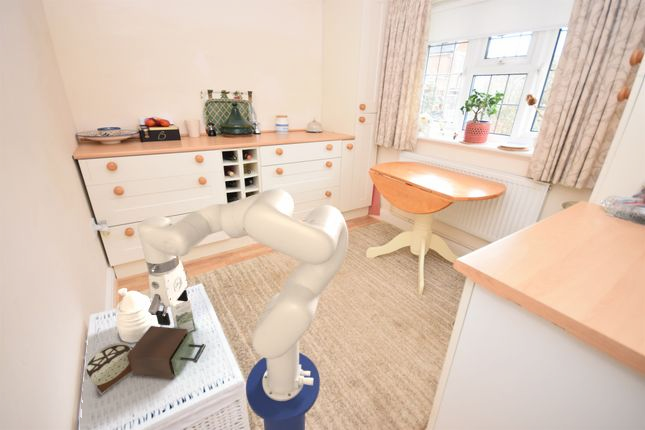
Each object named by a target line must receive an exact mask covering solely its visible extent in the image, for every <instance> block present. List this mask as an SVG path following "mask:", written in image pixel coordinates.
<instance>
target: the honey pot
mask: <svg viewBox="0 0 645 430" xmlns="http://www.w3.org/2000/svg"><path fill="white" fill-rule="evenodd" d="M117 293H118V295H120V296H122V299H121V300H120V301H119V302H118V303H117V305H116V306H115V312H116V313H117V318H116V319H117V320H116V328H117V332H118V335H119V338H120V339H121V340H122V341H123V342H124V343H128V344H130V343H137V342H138V341H139V340H140V339H141V337H142V336H143V335H144V334H145V333H146V331H147V330H148V329H149V328H150V327H151V326H158V327H161V325H159V324H158V321H157V317H156V315H151V314H150V313H149V312H148V309H149V307H150V305H151V303H152V301H150V297H148V295H145V294H142V293H141V292H139V291H136V290H129V291H128V288H126V287H121V288H120V289H118V291H117Z"/></svg>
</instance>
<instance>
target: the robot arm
mask: <svg viewBox="0 0 645 430" xmlns="http://www.w3.org/2000/svg"><path fill="white" fill-rule="evenodd" d="M294 203H295V202H294V200H293V198H292V196H291V195H290V194H289V192H287V191H286V190H284V189H281V188H271V189H268V190H264V191H262V192H259V193H256V194H252V195H250V196H247V197H243V198H241V199H238V200H235V201H231V202H228V203H217V204H213V205H210V206H206V207H204V208H200V209H197V210H195V211H192V212H190V213H188V214H187V215H186V216H184V217H182V218H180V219H179V220H178V221H177V222H175V223H172V221H171V219H169V218H168V217H166V216H162V215H161V216H160V215H157V216H151V217H147V218H145V219H143V220H141V221H140V222H139V223H138V226H137V231H138V236H139V239H140V243H141V247H142V251H143V254H144V255H143V256H144V260H145V264H146V267H147V271H148V285H149V292H150V297H151V305H150V307H149V309H148V312H149V313H150V314H151V315H156V317H157V321H158V324H159V325H160V326H169V327H170V325H171V319H170V314H169V312H168V308H169V307H170V306H171V305H173V304H174V302H175V301H176V300H177V301H188V297H189V295H188V292H187V291H188V290H187V288H188V278H187V276H188V275H187V274H188V271H187V270H185V268H184V265H183V263H182V261H181V259H180V258H179V257H185V256H187V255H188V254H189V253H191V252H192V251H193V250H194V249H195V248H196V247H197V246H198V245H199V244H200V243H202V242H203V240H205V239H206V238H207V237H209V236H210V235H213V234H216V233H218V232H219V233H220V232H222V231H223V232H224V234H226V235H227V236H228V237H229V238H232V239H239V238H242V237H246V236H248V237H249V238H251V239H252V241H255V242H257V243H259V244H260V245H263V246H264V247H267V248H268V249H271V250H273V251H276V252H278V253H281V254H283V255H285V256H288V257H290V258H291V259H295V260H297V261H300V263H299V264H298V265H297V266H296V268H295V269H294V271H293V272H292V273H291V274H290V275H289V276H288V277H287V278H286V280H285V282H284V283H283V285H282V287H281V289H280V291H279V292H277V293H275V294H273V295H272V296H271V297H270V299H268V301H267V303H266V305H265V306H264V308H263V311H262V312H261V315H260V317H259V319H258V321H257V323H256V326H255V328H254V329H253V332H252V336H251V344H252V347H253V350H254V351H255V353H256V354H258V356H260V357H261V358H266V362H267V370H266V372H265V374H264V376H263V389H264V391H265V393H266V394H267V396H268V397H270V398H271V399H273V400H277V401H286V400H290V399H292V398H294V397H295V396H296V395H297V394H299V392H300V391H301V389H302V387H303V384H307V385H313V378H304V376H310V371H303V370H302V369H301V365H300V364H299V353H300V339H301V338H303V336H304V335H305V334H306V333H307V332H308V330H309V329H310V327H311V325H312V324H313V322H314V318H315V316H316V312H317V308H318V303H319V300H320V297H321V295H322V293H323V291H324V290H325V289H326V288H327V287H328V285H329V284H330V282H331V281H332V279H333V278H334V277H335V276H336V275H337V273H338V272H339V271H340V269H341V267H342V265H343V263H344V261H345V258H346V257H347V251H348V247H349V229H348V224H347V223H346V220H345V218H344V215H342V213H341V211H340V210H338V208H336V207H334V206H332V205H330V204H322V205H318V206H316V207H314V208H313V209H311V211H309V213H308V214H307V215H306V217H305V219H304V220H303V221H302V220H300V219H297V218H295V217H293V214H294V211H295V205H294ZM187 295H188V296H187ZM160 307H162V310H160Z"/></svg>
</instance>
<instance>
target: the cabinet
mask: <svg viewBox="0 0 645 430" xmlns="http://www.w3.org/2000/svg"><path fill="white" fill-rule="evenodd" d="M187 335H188V329H179V328H175V327H170V326H169V327H166V326H160V327H158V326H151V327H150V328H149V329H148V330H147V331H146V333H145V334H144V335H143V336H142V337H141V339H140V340H139V341H138V342H136V344H135V345H134V346H132V347H133V348H131V351H130V352H129V353H128V355H127V357H128V360H129V363H130V366H131V369H132V372H131V373H132V374H133V376H138V377H147V378H148V377H149V378H159V379H169V380H174V378H175V377H176V376H175V373H174V370H172V366H171V362H170V358H171V356H172V355H173V353H174V352H175V350H176V349H177V347H178V345H179V344H180V342H181V341H182V339H183V338H186V336H187Z"/></svg>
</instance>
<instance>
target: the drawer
mask: <svg viewBox="0 0 645 430" xmlns="http://www.w3.org/2000/svg"><path fill="white" fill-rule="evenodd" d="M194 341H195V340H194V336H193V333H192V332H189V333H188V335H187V336H186V338H183V339H182V341H181V342H180V344H179V345H178V347H177V349H176V350H175V352H174V353H173V355H172V356H171V358H170V362H171V366H172V370H174V373H175V376H174V377H179V376H180V374H181V373H182V371H183V370H184V368H185V366H186V364H187V363H188V362H192V363H194V364H197V363H198V362H199V359H200V358H201V356H202V354H203V352H204V350H205V348H206V344H205V343H201V344H195V342H194ZM197 348H199V349H198V350H197V352H196V353H195V355H194V357H191V356H192V354H193V353H194V351H195V349H197Z"/></svg>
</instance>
